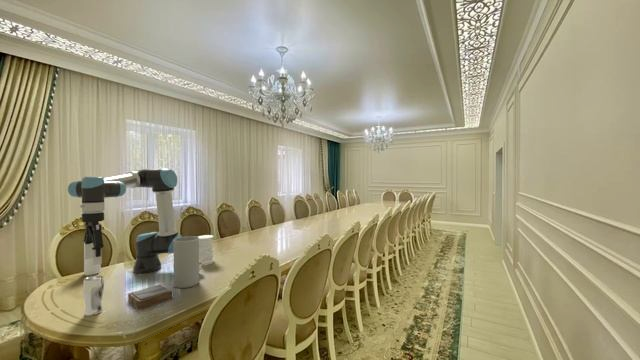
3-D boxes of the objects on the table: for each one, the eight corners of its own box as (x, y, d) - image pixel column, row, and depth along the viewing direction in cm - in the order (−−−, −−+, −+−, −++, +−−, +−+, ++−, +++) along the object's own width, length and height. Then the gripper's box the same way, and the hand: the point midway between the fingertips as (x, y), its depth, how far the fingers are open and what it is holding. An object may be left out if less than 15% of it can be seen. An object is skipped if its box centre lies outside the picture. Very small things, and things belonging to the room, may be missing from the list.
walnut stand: (128, 301, 128) (128, 292, 128) (160, 291, 139) (160, 283, 139) (139, 309, 119) (139, 300, 119) (172, 298, 130) (172, 290, 130)
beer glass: (91, 308, 120) (91, 275, 120) (108, 308, 121) (107, 274, 121) (78, 316, 113) (78, 281, 113) (96, 316, 114) (96, 280, 114)
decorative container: (199, 260, 191) (199, 235, 191) (216, 259, 193) (216, 234, 193) (193, 265, 180) (193, 238, 180) (211, 265, 181) (211, 238, 181)
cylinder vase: (181, 279, 155) (181, 236, 155) (203, 279, 155) (202, 236, 155) (168, 288, 143) (168, 241, 142) (192, 288, 142) (191, 241, 142)
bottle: (104, 271, 169) (103, 223, 169) (91, 275, 161) (91, 225, 161) (93, 270, 170) (93, 223, 170) (80, 275, 163) (80, 225, 163)
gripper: (75, 211, 122) (75, 258, 122) (89, 215, 106) (89, 269, 106) (96, 209, 128) (96, 254, 128) (112, 213, 112) (112, 264, 112)
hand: (93, 261), depth 117 cm, fingers open, 13 cm apart
